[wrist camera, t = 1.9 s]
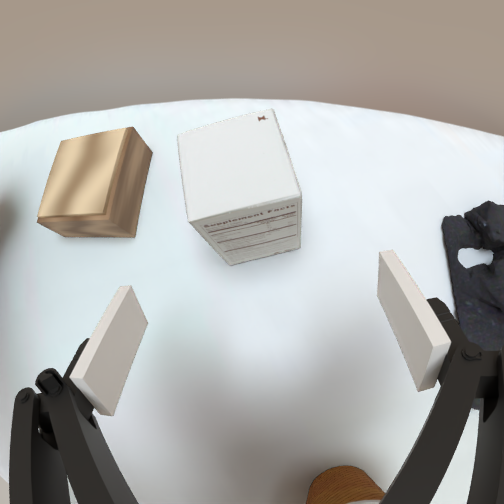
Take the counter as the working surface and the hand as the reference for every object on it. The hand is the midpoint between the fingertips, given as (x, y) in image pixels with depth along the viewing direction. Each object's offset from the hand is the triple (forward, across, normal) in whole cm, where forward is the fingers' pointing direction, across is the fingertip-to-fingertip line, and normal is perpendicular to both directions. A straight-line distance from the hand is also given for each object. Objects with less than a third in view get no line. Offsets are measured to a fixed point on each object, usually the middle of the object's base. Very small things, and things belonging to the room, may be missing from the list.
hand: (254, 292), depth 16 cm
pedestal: (+21, -19, +2) cm, 28 cm away
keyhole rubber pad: (+8, +25, -13) cm, 29 cm away
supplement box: (+16, -1, -4) cm, 17 cm away
